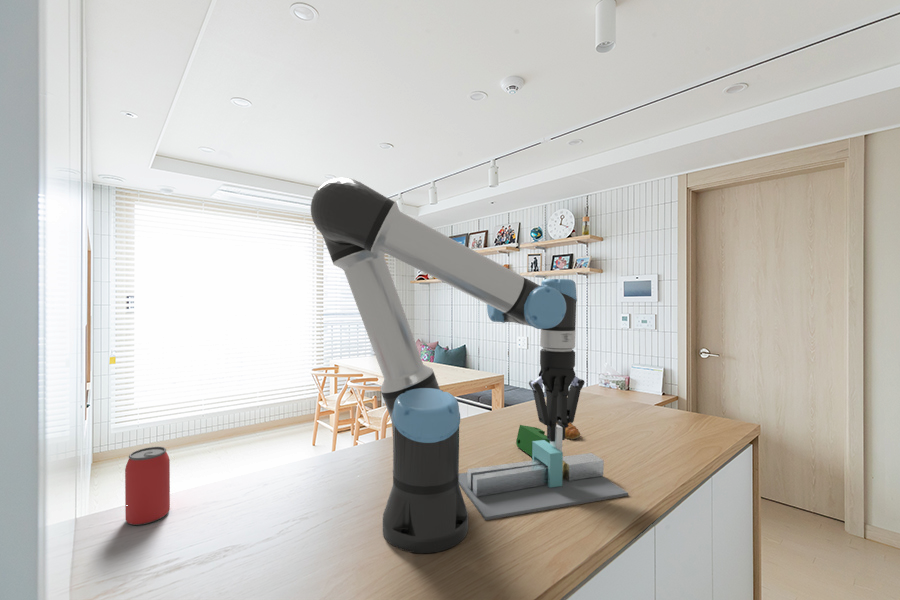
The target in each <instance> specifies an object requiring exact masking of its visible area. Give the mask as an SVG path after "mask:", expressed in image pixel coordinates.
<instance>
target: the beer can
mask: <svg viewBox="0 0 900 600" xmlns="http://www.w3.org/2000/svg"><path fill="white" fill-rule="evenodd" d="M170 461H171V460H170V457H169V454H168V453H167V448H166V447H163V446H151V447H150V446H149V447H144V448H141V449H138V450H135V451H133V452H131V453H130V454H129V455H128V460H127V463H126V465H125V468H124V474H125V475H124V479H125V480H124V483H125V484H124V489H125V491H124V494H125V496H124V499H125V503H124V504H125V521H126V523H127V524H129V525H133V526H141V525H147V524H151V523H153V522H156V521H159V520H160V519H162V518H164V517H165V516H166V515H168V513H169V512H170V509H171V494H170V493H171V491H170V488H171V487H170V485H171V484H170V482H171V481H170V477H171V476H170V475H171V472H170V471H171V469H170V464H171V463H170ZM126 505H128V506H126Z"/></svg>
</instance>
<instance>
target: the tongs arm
mask: <svg viewBox="0 0 900 600" xmlns="http://www.w3.org/2000/svg"><path fill="white" fill-rule="evenodd" d="M542 485H548V466H547V465H546V464H543V465H537V466H530V467H524V468H517V469H511V470H505V471H498V472H492V473H485V474H479V475H473V493H474V494H475V495H476V497H479V496H485V495H490V494H496V493H502V492H508V491H513V490H519V489H525V488H530V487H536V486H542Z"/></svg>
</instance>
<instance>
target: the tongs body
mask: <svg viewBox="0 0 900 600" xmlns="http://www.w3.org/2000/svg"><path fill="white" fill-rule="evenodd" d="M604 462H605V461H604V459H603V458H601V457H599V456H598V455H595V454H594V453H592V452H588V453H581V454H574V455H573V454H572V455H565V456H564V455H563V470H562V480H564V479H565V478H566V479H567V480H568V481H571V480H578V479H585V478H591V477H598V476H603V477H604V466H605V465H604ZM543 464H544V463H543V462H542V461H540V460H533V461H532V460H526V461H518V462H511V463H505V464H503V463H502V464H496V465H489V466H480V467H474V468H467V472H468V474H467V485H468V487H469V488H470V489H471V490H472V489H473V475H479V474H485V473H492V472H498V471H505V470H511V469H517V468H524V467H530V466H537V465H543Z"/></svg>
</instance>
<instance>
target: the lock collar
mask: <svg viewBox="0 0 900 600" xmlns="http://www.w3.org/2000/svg"><path fill="white" fill-rule="evenodd" d="M563 457H564V452H563V450H562V451H560V450H559V449H557V448H556V447H554V446H552V445H551V444H549V443H548V442H546V441H545V440H539V441H532V456H531V458H532V459H531V461H533V460H540V461H542V462H543V463H544V464H546V465H547V466H548V487H550V488H552V487H558V486H562V470H563Z"/></svg>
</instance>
